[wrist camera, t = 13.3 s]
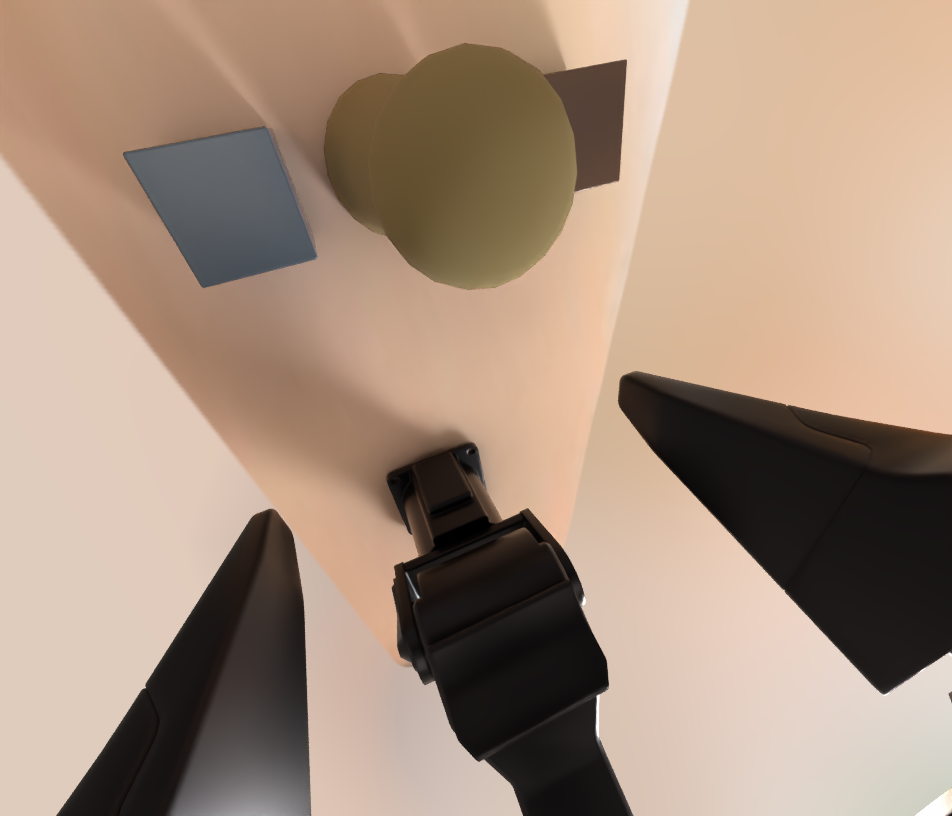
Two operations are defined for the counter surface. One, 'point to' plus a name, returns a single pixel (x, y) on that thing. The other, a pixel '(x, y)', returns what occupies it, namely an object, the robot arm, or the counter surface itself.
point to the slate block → (227, 203)
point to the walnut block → (594, 119)
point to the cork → (457, 163)
